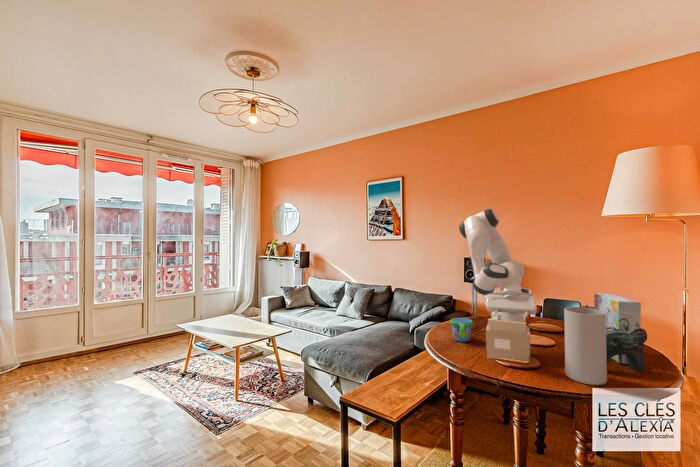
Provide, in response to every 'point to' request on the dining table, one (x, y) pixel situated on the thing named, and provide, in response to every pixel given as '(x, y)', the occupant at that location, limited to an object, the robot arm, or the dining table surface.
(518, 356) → the carton
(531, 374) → the dining table surface
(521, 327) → the flap
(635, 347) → the game controller
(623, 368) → the dining table surface
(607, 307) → the snack box
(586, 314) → the cylinder vase
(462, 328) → the snack cup
